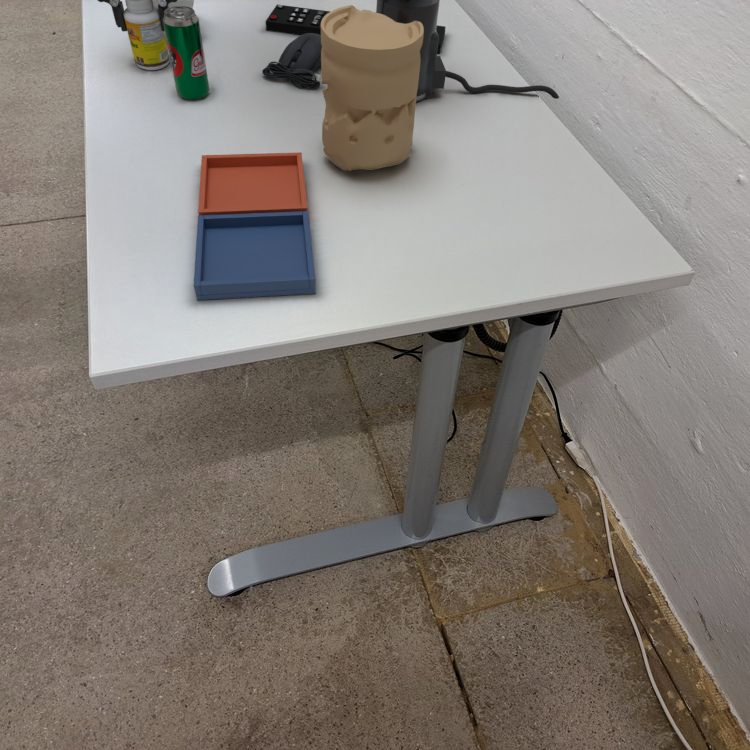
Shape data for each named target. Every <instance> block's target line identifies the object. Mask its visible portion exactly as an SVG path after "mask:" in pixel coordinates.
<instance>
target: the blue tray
mask: <svg viewBox="0 0 750 750" xmlns="http://www.w3.org/2000/svg"><path fill="white" fill-rule="evenodd" d="M310 227H311V225H310V217H309V210H308V211H303V212H302V211H300V212H275V213H251V214H226V215H200V216H199V215H197V228H196V243H195V258H194V259H195V260H194V273H193V274H194V275H193V288H194V293H195V298H196V300H197V301H205V300H206V301H207V300H209V301H210V300H223V299H224V300H227V299H243V298H244V299H245V298H261V297H278V296H279V297H280V296H297V295H313V294H316V293H317V290H316V289H317V288H316V274H315V265H314V264H315V263H314V255H313V245H312V236H311V235H312V234H311V228H310Z"/></svg>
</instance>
